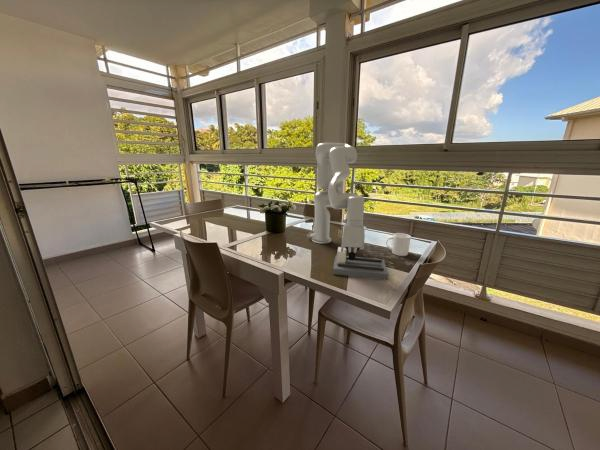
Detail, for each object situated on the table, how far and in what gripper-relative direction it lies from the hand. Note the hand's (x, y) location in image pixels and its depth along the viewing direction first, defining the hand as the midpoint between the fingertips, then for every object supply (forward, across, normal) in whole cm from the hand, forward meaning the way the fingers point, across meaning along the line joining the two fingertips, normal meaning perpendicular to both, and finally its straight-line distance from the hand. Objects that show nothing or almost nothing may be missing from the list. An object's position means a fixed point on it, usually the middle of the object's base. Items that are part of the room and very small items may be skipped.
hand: (351, 259), depth 115 cm
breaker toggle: (+1, -5, 0) cm, 5 cm away
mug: (+5, +26, +25) cm, 36 cm away
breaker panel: (+5, +4, 0) cm, 6 cm away
